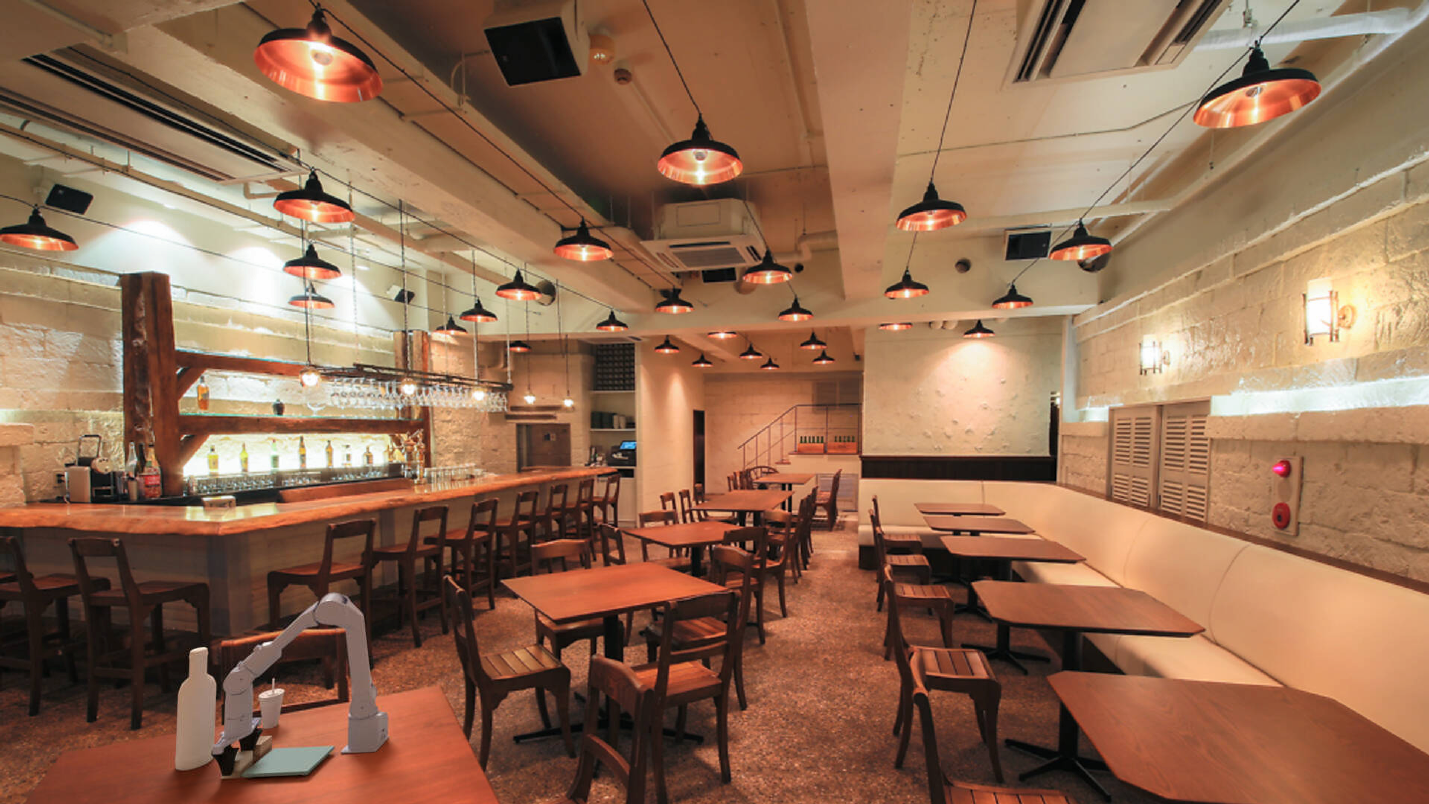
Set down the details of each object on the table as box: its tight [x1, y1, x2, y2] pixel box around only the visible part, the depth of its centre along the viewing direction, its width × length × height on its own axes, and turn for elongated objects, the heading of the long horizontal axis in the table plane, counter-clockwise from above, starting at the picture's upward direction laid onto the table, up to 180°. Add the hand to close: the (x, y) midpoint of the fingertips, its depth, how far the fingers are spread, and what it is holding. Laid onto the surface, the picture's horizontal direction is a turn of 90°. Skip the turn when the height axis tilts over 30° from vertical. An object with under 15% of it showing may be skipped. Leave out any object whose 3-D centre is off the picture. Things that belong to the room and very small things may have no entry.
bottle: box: [174, 647, 217, 771], centre depth 158 cm, size 8×8×30 cm
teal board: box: [241, 745, 336, 780], centre depth 155 cm, size 16×12×2 cm
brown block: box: [252, 735, 273, 763], centre depth 160 cm, size 4×4×4 cm
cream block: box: [220, 750, 253, 780], centre depth 152 cm, size 4×4×4 cm
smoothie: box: [257, 677, 285, 730], centre depth 177 cm, size 6×6×14 cm
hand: (237, 767), depth 152 cm, fingers open, 6 cm apart
